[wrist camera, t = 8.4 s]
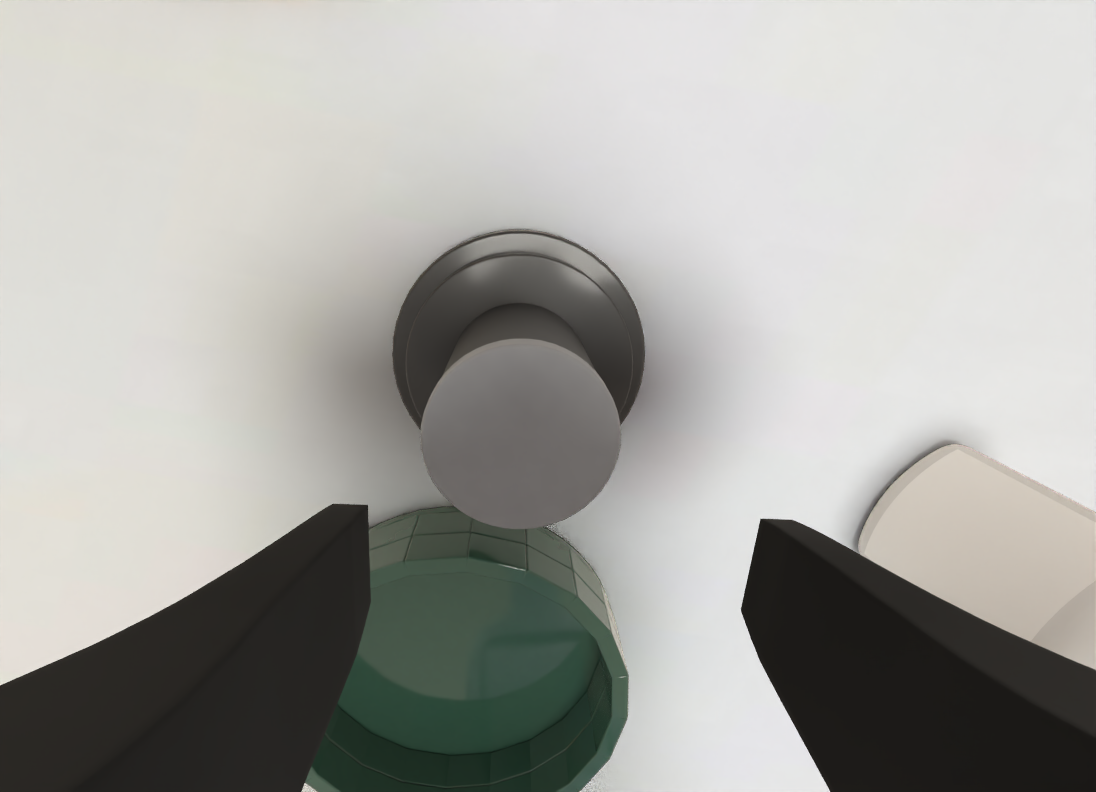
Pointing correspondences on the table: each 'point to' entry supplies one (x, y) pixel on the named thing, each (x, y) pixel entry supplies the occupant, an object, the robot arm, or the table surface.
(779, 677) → the robot arm
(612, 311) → the gray stand
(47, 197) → the table surface
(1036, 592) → the eye dropper bottle
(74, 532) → the table surface
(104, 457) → the table surface
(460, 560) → the tin
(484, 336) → the black canister
